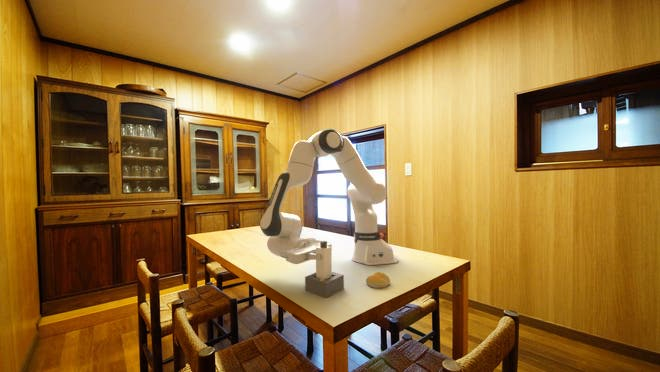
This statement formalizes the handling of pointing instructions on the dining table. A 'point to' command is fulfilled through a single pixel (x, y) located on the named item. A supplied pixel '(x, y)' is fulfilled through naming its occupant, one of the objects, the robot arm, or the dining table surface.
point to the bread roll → (378, 280)
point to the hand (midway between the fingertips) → (325, 255)
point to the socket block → (324, 284)
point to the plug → (324, 261)
